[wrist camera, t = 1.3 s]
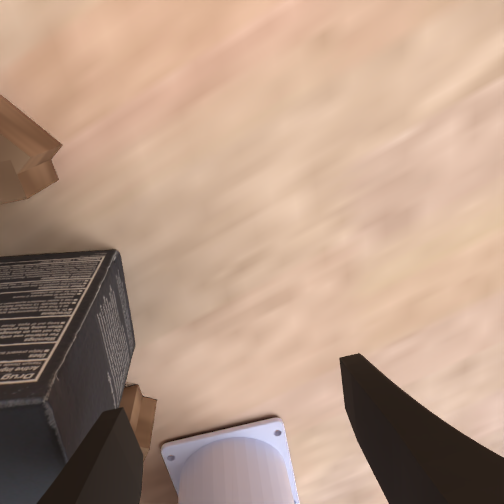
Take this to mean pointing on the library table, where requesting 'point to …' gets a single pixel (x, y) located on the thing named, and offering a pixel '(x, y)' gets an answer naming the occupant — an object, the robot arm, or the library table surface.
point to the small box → (57, 361)
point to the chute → (31, 182)
